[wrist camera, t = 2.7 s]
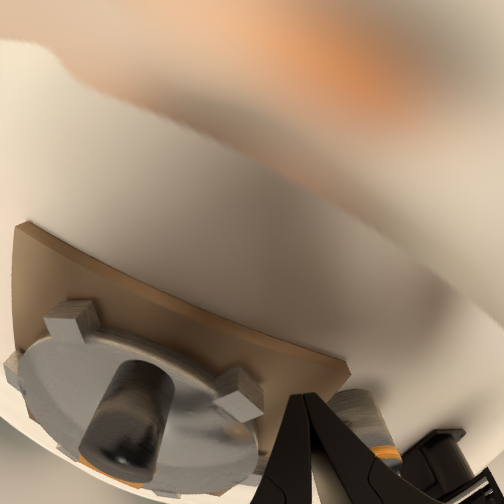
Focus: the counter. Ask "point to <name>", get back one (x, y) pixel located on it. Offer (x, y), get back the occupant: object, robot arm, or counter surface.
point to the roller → (366, 423)
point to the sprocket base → (162, 325)
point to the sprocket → (139, 407)
